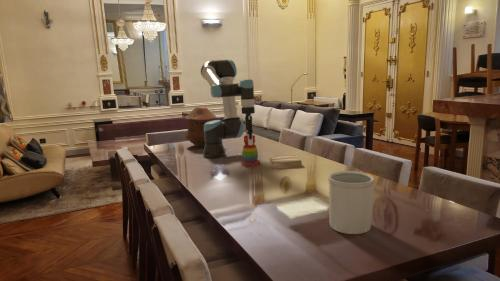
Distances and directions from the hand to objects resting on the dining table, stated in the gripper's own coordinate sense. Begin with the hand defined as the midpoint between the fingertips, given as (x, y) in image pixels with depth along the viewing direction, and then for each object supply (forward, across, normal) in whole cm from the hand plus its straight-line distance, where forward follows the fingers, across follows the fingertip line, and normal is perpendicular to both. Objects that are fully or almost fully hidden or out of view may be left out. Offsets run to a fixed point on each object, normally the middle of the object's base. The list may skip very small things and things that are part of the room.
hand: (249, 142), depth 211 cm
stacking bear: (+13, 0, 0) cm, 13 cm away
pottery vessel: (+12, +68, +32) cm, 77 cm away
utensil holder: (+15, -93, -27) cm, 98 cm away
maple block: (+14, -4, -20) cm, 24 cm away
